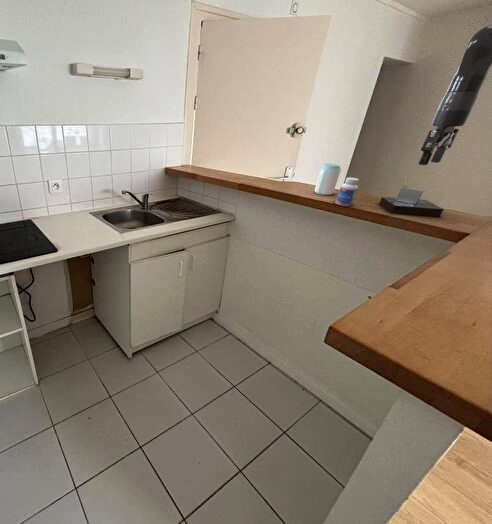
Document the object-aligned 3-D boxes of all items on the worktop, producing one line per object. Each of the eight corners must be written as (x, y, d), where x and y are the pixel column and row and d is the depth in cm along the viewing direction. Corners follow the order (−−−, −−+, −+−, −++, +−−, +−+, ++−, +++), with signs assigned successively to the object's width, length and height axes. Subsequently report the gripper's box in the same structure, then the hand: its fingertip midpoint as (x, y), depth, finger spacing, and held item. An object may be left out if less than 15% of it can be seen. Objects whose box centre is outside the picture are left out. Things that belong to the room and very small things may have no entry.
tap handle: (417, 204, 99) (424, 189, 97) (414, 204, 99) (422, 189, 96) (397, 199, 104) (404, 185, 101) (395, 200, 103) (401, 185, 101)
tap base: (422, 207, 105) (426, 199, 104) (439, 217, 96) (444, 208, 94) (378, 204, 109) (382, 196, 107) (391, 213, 100) (394, 205, 98)
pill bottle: (333, 203, 110) (341, 178, 105) (337, 201, 113) (346, 176, 108) (349, 207, 106) (358, 181, 101) (353, 204, 109) (362, 178, 104)
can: (320, 190, 126) (328, 162, 120) (336, 194, 121) (345, 165, 115) (310, 192, 123) (318, 164, 117) (326, 196, 118) (336, 167, 112)
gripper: (460, 109, 81) (432, 167, 89) (481, 108, 86) (453, 163, 94) (427, 109, 87) (404, 164, 95) (449, 108, 92) (425, 159, 100)
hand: (428, 163), depth 94 cm, fingers open, 8 cm apart
